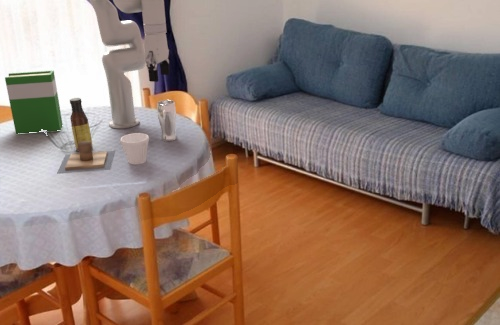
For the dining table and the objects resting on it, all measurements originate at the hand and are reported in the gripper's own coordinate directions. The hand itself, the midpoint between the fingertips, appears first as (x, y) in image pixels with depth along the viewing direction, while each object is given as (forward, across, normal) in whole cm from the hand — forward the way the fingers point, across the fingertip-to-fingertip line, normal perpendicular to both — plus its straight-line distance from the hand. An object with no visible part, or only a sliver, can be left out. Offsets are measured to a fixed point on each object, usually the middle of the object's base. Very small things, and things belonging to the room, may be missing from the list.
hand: (159, 77), depth 204 cm
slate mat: (+28, +16, -24) cm, 40 cm away
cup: (+28, +12, -6) cm, 31 cm away
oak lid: (+27, +16, -24) cm, 40 cm away
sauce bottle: (+28, +4, -32) cm, 43 cm away
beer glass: (+28, -13, -5) cm, 31 cm away
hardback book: (+28, -13, -63) cm, 70 cm away
